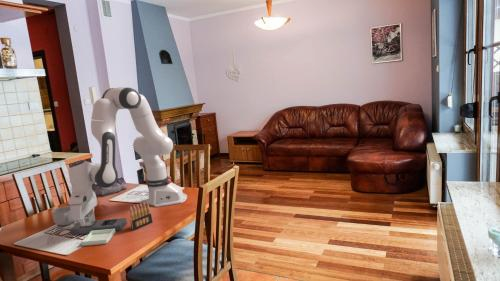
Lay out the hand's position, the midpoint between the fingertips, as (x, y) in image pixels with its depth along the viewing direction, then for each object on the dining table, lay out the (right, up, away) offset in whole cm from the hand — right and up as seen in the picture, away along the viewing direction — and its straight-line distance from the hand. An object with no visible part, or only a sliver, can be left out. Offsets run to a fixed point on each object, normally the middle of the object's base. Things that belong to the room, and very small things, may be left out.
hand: (87, 221), depth 164 cm
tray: (+10, -6, -10) cm, 15 cm away
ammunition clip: (+26, -3, +1) cm, 26 cm away
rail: (+5, -4, +1) cm, 7 cm away
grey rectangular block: (0, -5, +1) cm, 5 cm away
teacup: (-16, -4, +10) cm, 19 cm away
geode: (-12, +5, +57) cm, 59 cm away
